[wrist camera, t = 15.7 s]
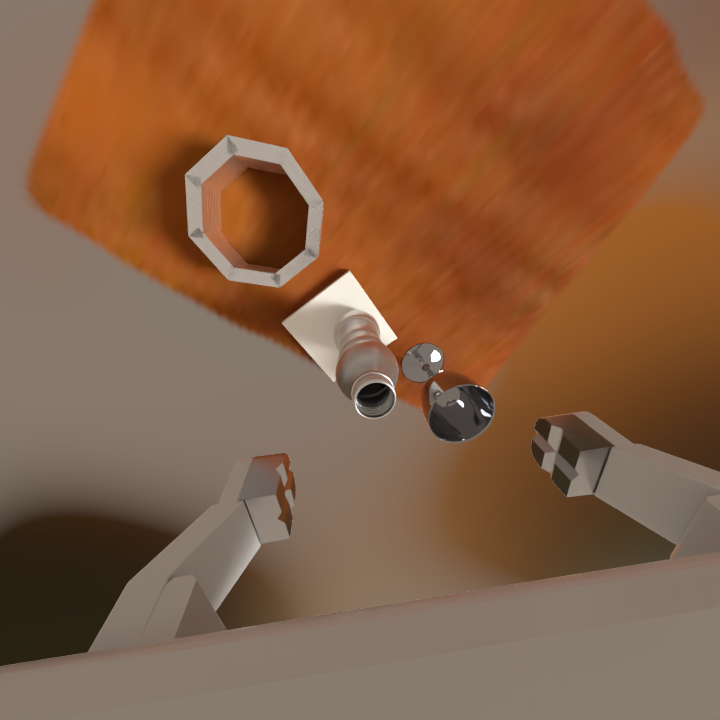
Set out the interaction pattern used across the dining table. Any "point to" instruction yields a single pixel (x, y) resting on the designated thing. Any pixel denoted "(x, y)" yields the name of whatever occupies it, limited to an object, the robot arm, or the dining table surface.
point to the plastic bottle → (365, 365)
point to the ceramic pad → (331, 320)
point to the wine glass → (448, 396)
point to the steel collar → (206, 207)
